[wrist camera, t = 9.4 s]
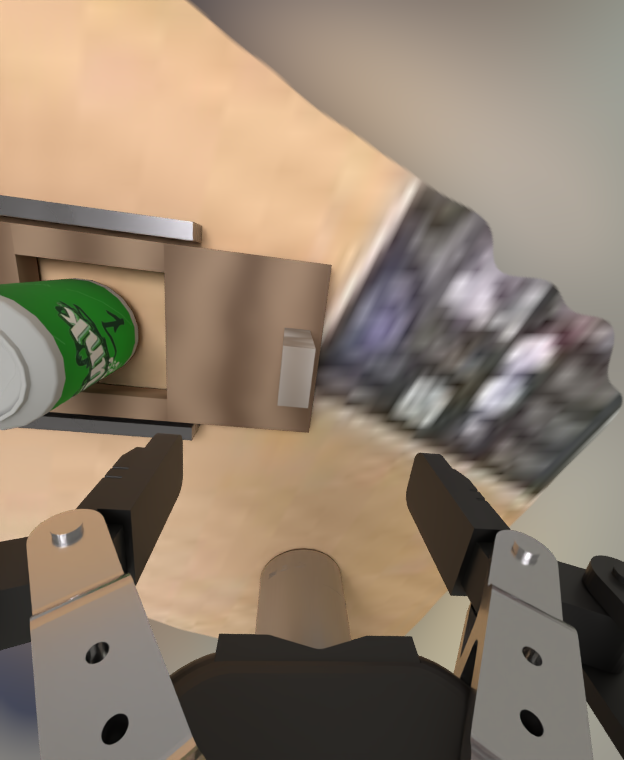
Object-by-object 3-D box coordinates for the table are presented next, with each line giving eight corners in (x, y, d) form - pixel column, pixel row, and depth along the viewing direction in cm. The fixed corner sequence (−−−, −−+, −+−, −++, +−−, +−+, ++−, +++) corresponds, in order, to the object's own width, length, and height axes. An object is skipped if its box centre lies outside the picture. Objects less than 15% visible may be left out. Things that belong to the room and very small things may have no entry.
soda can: (33, 338, 27) (-149, 393, 16) (68, 257, 25) (-110, 254, 14) (121, 385, 29) (14, 463, 18) (160, 312, 27) (67, 349, 16)
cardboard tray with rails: (328, 264, 26) (344, 266, 19) (307, 422, 31) (313, 473, 23) (-14, 219, 24) (-153, 200, 16) (19, 398, 28) (-79, 447, 21)
